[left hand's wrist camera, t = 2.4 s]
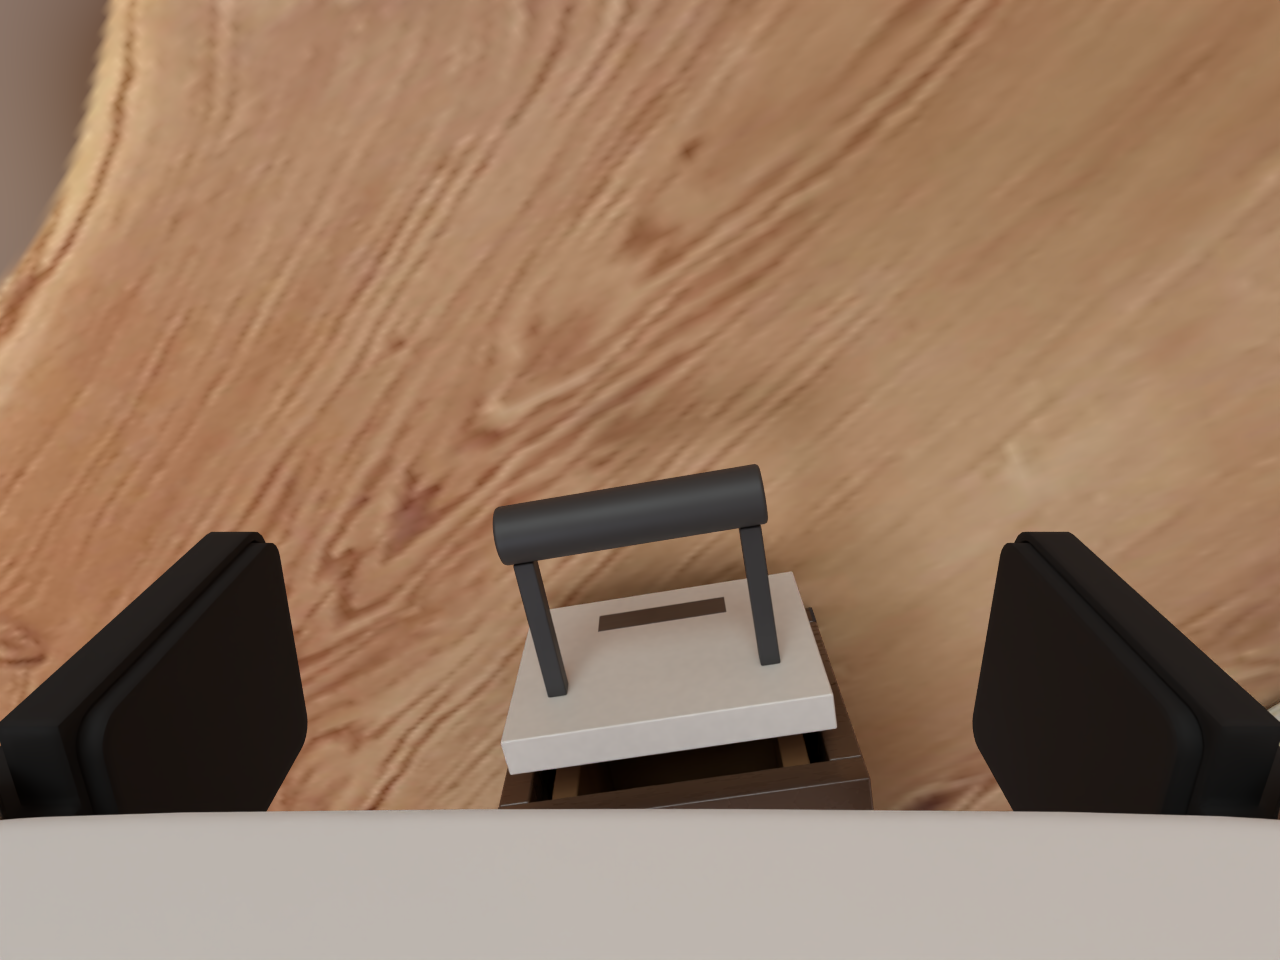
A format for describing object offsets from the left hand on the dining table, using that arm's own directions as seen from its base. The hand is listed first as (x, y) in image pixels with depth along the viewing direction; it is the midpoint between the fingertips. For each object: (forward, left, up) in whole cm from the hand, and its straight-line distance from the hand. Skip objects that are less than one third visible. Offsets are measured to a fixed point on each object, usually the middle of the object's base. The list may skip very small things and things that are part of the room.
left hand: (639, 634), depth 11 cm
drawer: (-6, +12, -18) cm, 22 cm away
